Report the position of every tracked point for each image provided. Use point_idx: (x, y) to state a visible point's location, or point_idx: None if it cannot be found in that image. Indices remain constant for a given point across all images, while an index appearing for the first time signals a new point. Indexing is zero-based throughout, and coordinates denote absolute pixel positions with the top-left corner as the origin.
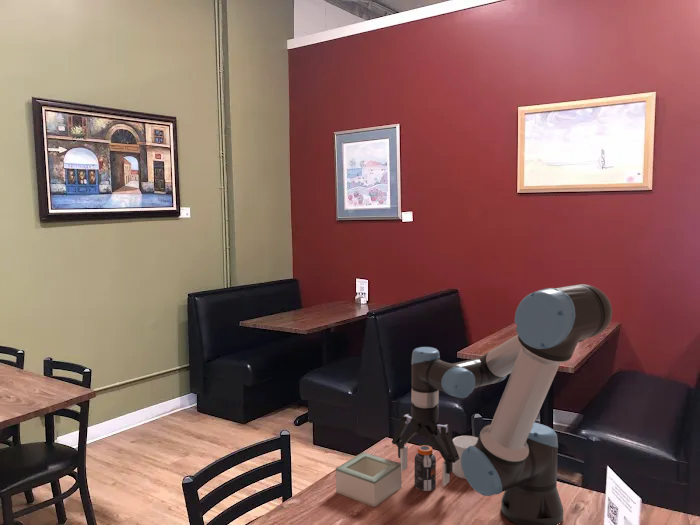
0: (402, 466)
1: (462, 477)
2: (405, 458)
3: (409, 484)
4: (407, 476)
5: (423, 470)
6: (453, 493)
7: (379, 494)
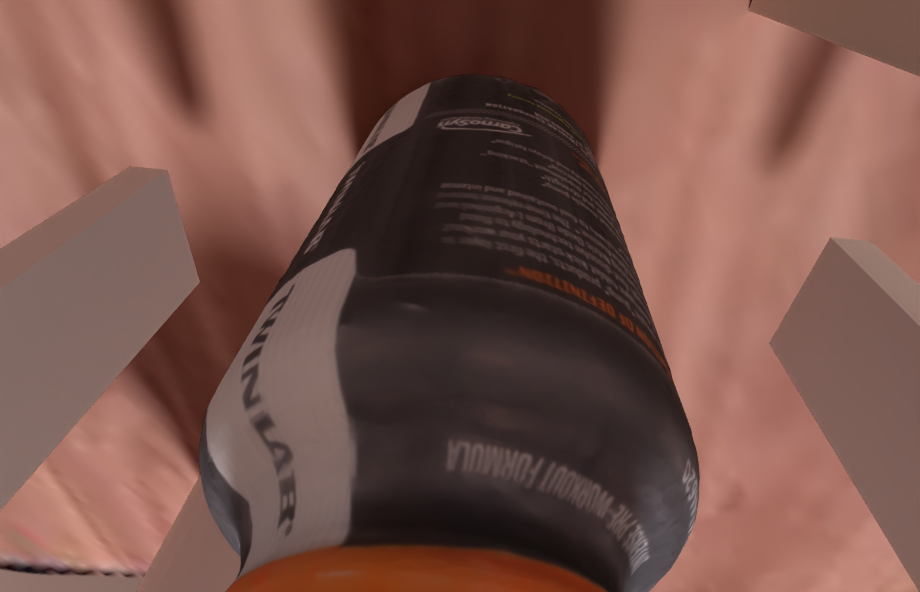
0: (871, 283)
1: None
2: (880, 429)
3: (659, 147)
4: (727, 287)
5: (385, 197)
6: None
7: None
